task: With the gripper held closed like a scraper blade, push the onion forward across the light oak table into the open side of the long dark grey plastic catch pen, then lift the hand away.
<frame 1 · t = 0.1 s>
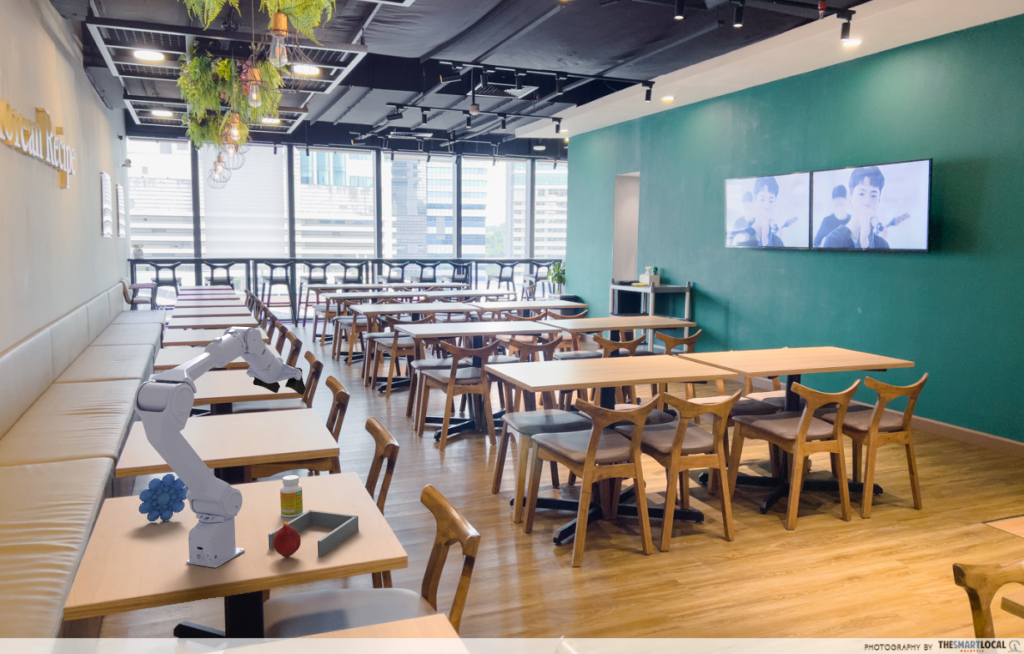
hand: (290, 390, 179), 32 cm above the table, tool tilted 50°, fingers open, 7 cm apart
catch pen: (314, 539, 165), on the table
blue flower: (165, 520, 178), on the table
onion: (287, 558, 155), on the table
supplement bottle: (292, 514, 182), on the table
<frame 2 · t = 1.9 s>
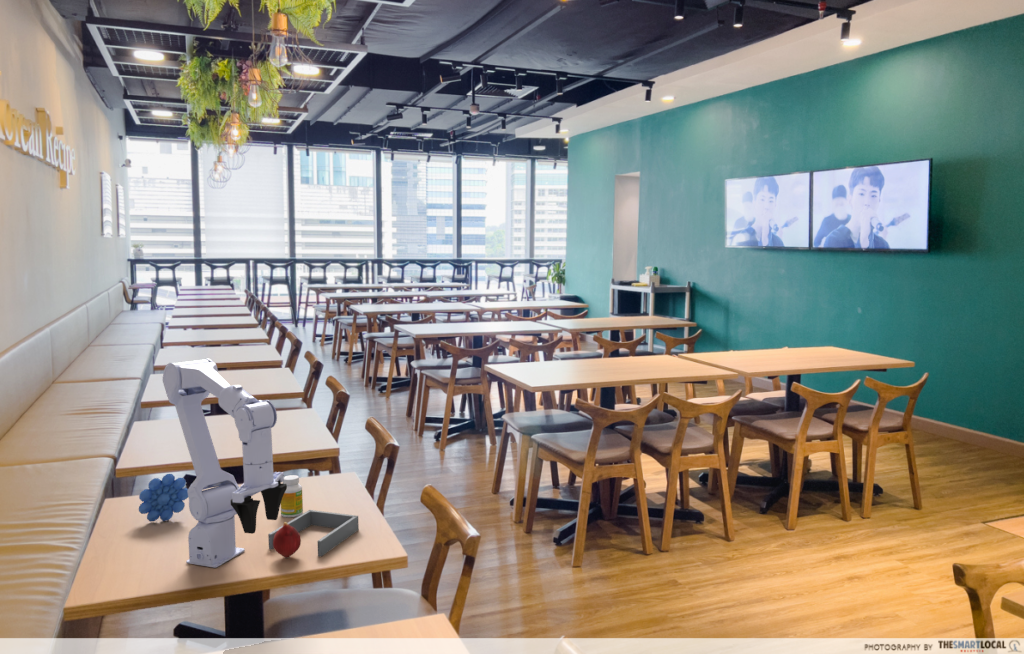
hand: (261, 525, 145), 11 cm above the table, tool pointing down, fingers open, 7 cm apart
nothing on the table moved.
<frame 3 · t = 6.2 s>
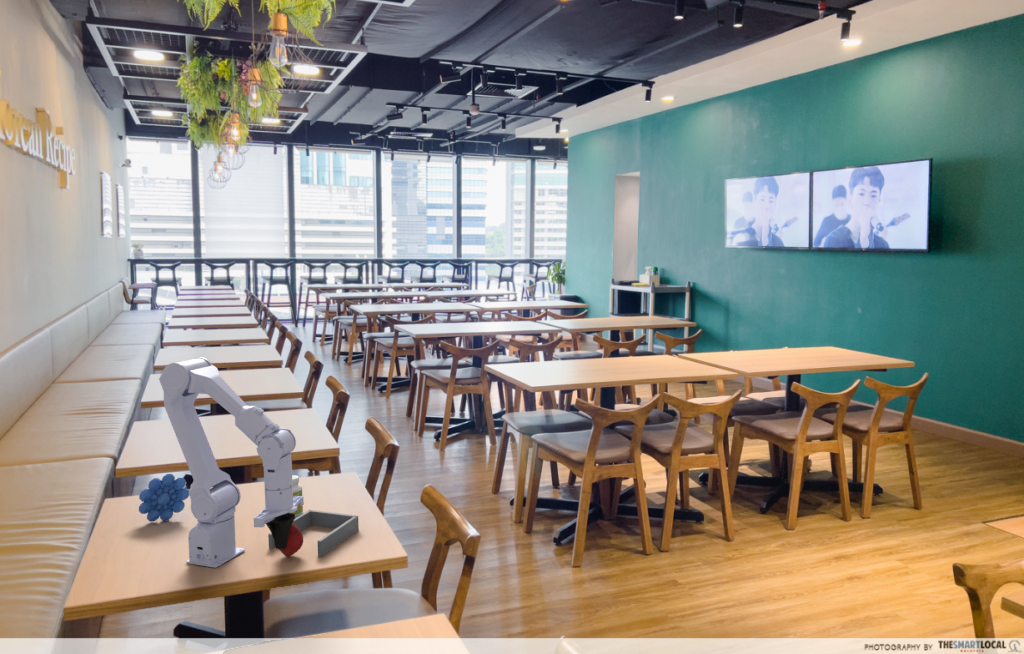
hand: (281, 548, 152), 3 cm above the table, tool pointing down, fingers closed, pressing on onion
onion: (288, 557, 155), on the table, touching gripper
everything else where it was.
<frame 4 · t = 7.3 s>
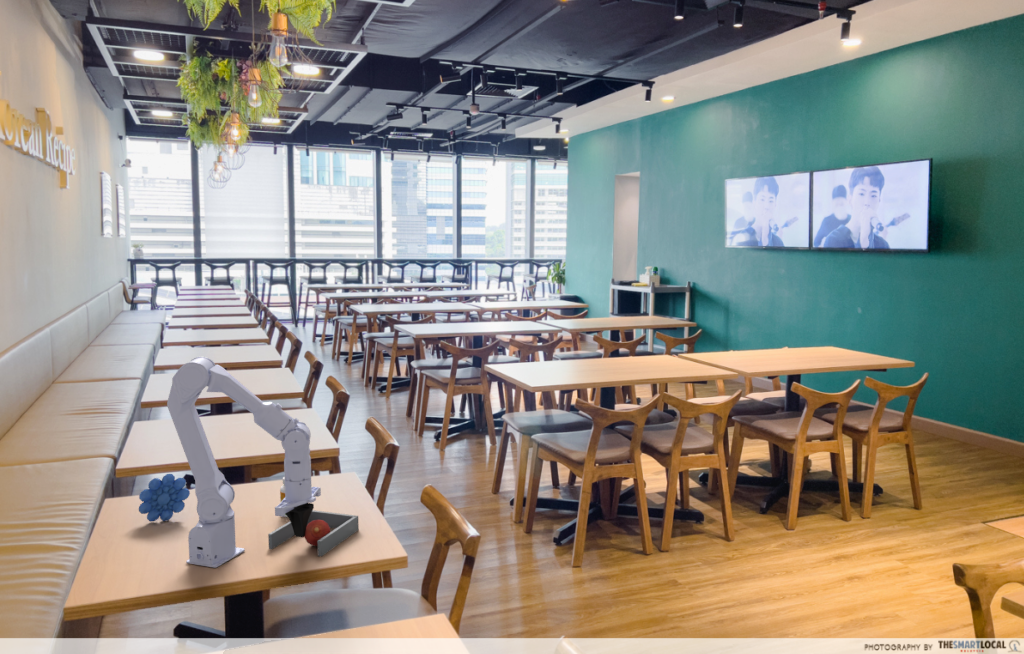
hand: (299, 536, 159), 3 cm above the table, tool pointing down, fingers closed, pressing on onion
onion: (317, 530, 158), point 5 cm above the table, touching gripper
everything else where it was.
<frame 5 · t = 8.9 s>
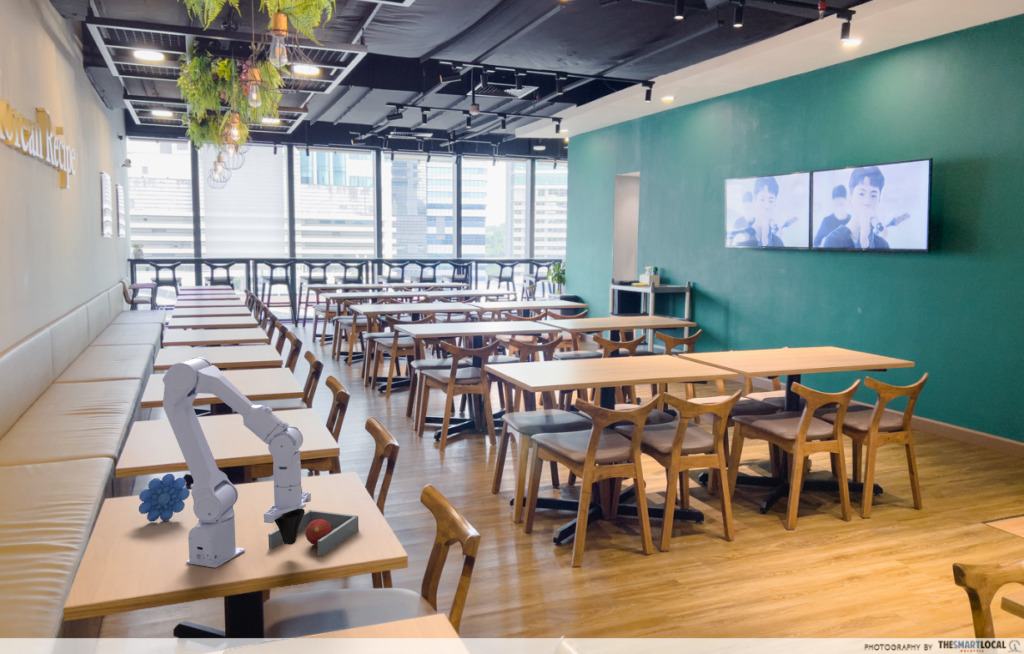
hand: (289, 543, 156), 3 cm above the table, tool pointing down, fingers closed
onion: (317, 530, 158), point 5 cm above the table, touching catch pen
everything else where it was.
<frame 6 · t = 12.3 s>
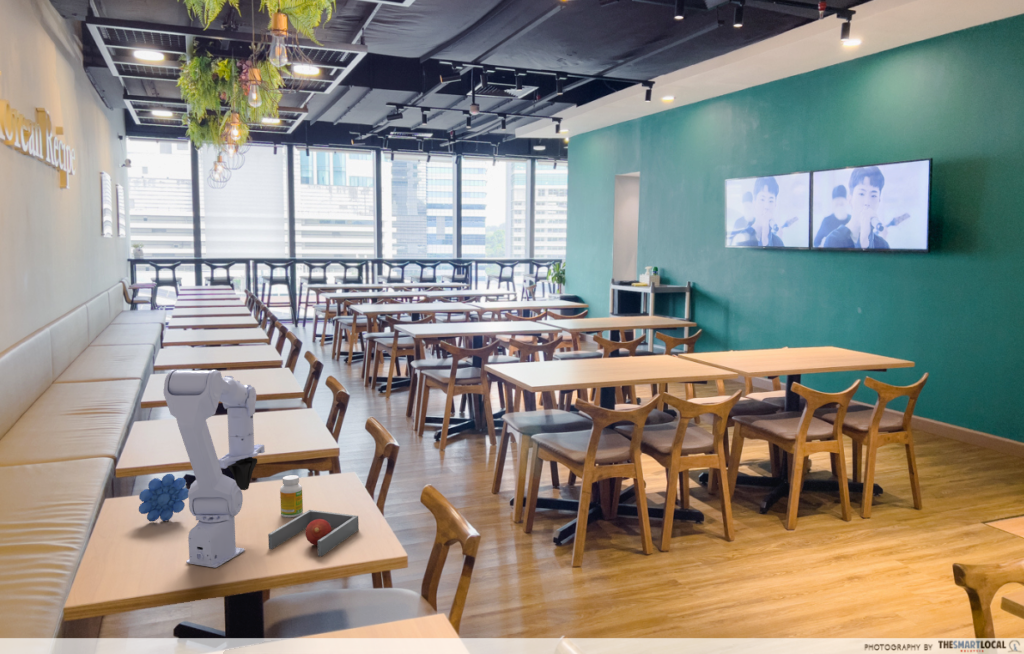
hand: (243, 489, 171), 10 cm above the table, tool pointing down, fingers closed
nothing on the table moved.
at the end: onion inside the target area on the catch pen (7.5 cm from its centre), point 4.9 cm above the catch pen's base; onion moved 8.2 cm from its start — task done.
